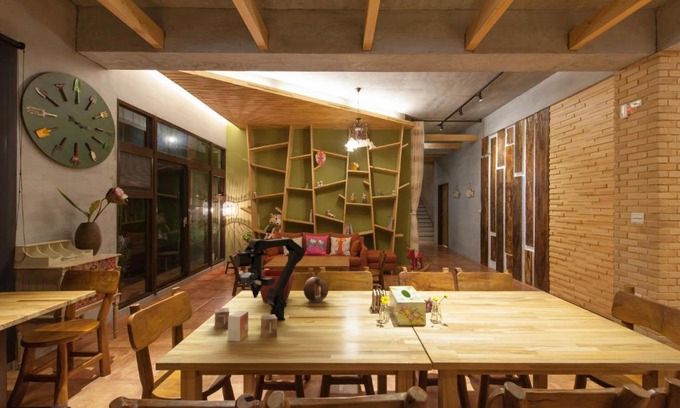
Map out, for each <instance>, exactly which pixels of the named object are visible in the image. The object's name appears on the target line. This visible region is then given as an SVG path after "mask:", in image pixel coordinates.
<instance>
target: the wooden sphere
mask: <svg viewBox="0 0 680 408" xmlns="http://www.w3.org/2000/svg"><path fill="white" fill-rule="evenodd" d="M303 294H304V296H305V298H306V299H307V300H308V301H310V302H312V303H320V302H322V301H323V300H325V299H326V298H327V295H328V294H329V285H328V283H327V281H326V280H325V279H324V278H322V277H320V276H312V277H310V278H308V279H307V280H306V281H305V283H304V285H303Z"/></svg>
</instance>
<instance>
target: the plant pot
mask: <svg viewBox="0 0 680 408" xmlns="http://www.w3.org/2000/svg"><path fill="white" fill-rule="evenodd" d="M282 272H283V269H281V270H280V269H263V270H262V275H264V277H263V278H267V277H270V278H274V280H275V284H272V285H269V286H262V288H261V289H260V292H259V294H260V297H261V299H262V301H263V304H269V303H268V302H267V299H266V297H267V295H266V294H267V293H268V291H269V289H270V287H272V288H273V287H275V286H276V284H277V282H278V280H279V278H280V276H281V274H282ZM294 276H295V270H293V272H292V274H291V277H290V279H289V281H288V283H287V285H286V287H285V289H284V298H283V300H284V301H285V302H287V300H288V299H289V296H290V294H291V290H292V285H293V282H294ZM263 278H262V279H263Z"/></svg>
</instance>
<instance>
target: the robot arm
mask: <svg viewBox="0 0 680 408" xmlns="http://www.w3.org/2000/svg"><path fill="white" fill-rule="evenodd" d="M280 247H285V249H286V251H288V254H287V261H286V263H285V266H284V268H283V269H282V270H283V272H282V274H281V276H280V278H279V280H278V282H277V284H276V286H275V287H273V288H272V287H270V289H269V291H268V293H267V294H266V295H267V297H266V299H267V302H268V303H267V304H268V305H269V307H270V309H269V315H272V314H275V316H276V317H277V322H278V321H285V320H286V318H285V309H286V308H287V306H288V303H287V301H286V302H285V301H284V300H283V298H284V289H285V287H286V285H287V283H288V281H289V279H290V277H291V274H292V272H293V271H295V268H296V266H297V264H299V263H300V262H301V261H302V260H303V258H304V256H305V254H306V251H305V248H304V247H302V246H301V245H299V244H298V243H297V242H296V241H295V240H294V239H292V238H291V237H284V238H275V239H267V240H265V239H257V238H252V239H250V241H249V242H248V245H247V246H246V247H245V249H244V251H243V252H235V253H236V255H235V256H234V259H233V264H234V267H235V268H246V267H248V268H247V271H246V272H244V273H243V274H240V275H238V276H237V278H236V281H237V283H242V284H246V285H247V286H249V288H250V290H251V293H252V296H253V298H255V299H257V298H258V296H259V294H260V289H261V288H262V286H269V285H272V284H275V280H274V278H270V277H267V278H263V277H264V275H262V272H263V270H265V268H264V266H263V257H264V256H267V253H266V252H265V251H266V250H268V249H272V248H280ZM262 278H263V279H262Z"/></svg>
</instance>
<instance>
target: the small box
mask: <svg viewBox="0 0 680 408" xmlns="http://www.w3.org/2000/svg"><path fill="white" fill-rule="evenodd" d="M248 334H249V311H248V310H247V311H245V310H236V311H235V312H234V313H231V314H229V316H228V329H227V341H228V342H231V341H232V342H238V343H239V342H241V341H242V340H243V339H245V338H246V337H248V336H249V335H248Z"/></svg>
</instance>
